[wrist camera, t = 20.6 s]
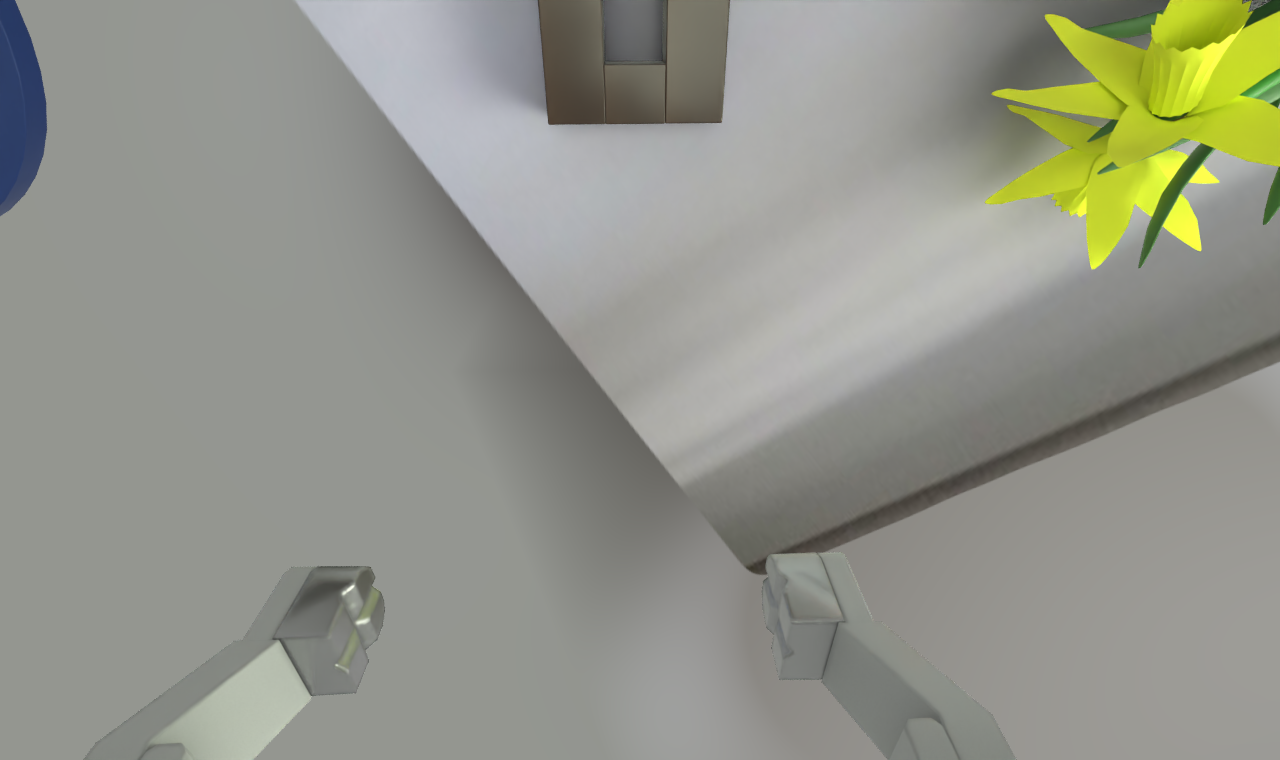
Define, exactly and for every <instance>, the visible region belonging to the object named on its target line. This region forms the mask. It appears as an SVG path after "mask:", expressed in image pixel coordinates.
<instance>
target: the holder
mask: <svg viewBox="0 0 1280 760" xmlns="http://www.w3.org/2000/svg"><path fill="white" fill-rule="evenodd" d="M729 5H730V0H663V29H662V61H606V62H605V39H604V9H603V0H538V7H539V19H540V31H541V43H542V55H543V67H544V79H545V91H546V102H547V114H548V124H549V125H564V124H605V123H606V124H664V123H721V122H722V114H723V99H724V83H725V68H726V52H727V36H728V21H729Z"/></svg>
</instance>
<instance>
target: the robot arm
mask: <svg viewBox="0 0 1280 760" xmlns="http://www.w3.org/2000/svg"><path fill="white" fill-rule="evenodd" d="M766 570H767V574H768V578H766V579H765V580H764V581H763V587H762V607H763V614H764V619H765V624H766V627H767V629H768V630H769V631H770V632H771V633H772V634H773V635H774V637H773V642H772V653H773V657H774V661H775V665H776V669H777V672H778V676H779V680H799V679H800V680H802V679H803V680H805V679H806V680H815V679H817V680H819V679H822V683H823V684H824V685H825V686H826V687H827V689H828V690H829V691H830V692H831V693H832V695H833V696H834V697H835V698H836V699H837V700H838V702H839V703H840V704H841V705H842V706H843V707H844V709H845V710H846V711H847V712H848V713H849V714H850V716H851V717H852V718H853V719H854V720H855V722H856V723H857V724H858V725H859V726H860V727H861V729H862V730H863V731H864V732H865V733H866V734H867V736H868V737H869V738H870V739H871V740H872V742H873V743H874V744H875V745H876V746H877V747H878V749H879V750H880V751H881V752H882V753H883V755H884V756H885V757H886V758H887V759H888V760H1016V758H1015V756H1014V754H1013V752H1012V750H1011V749H1010V747H1009V745H1008V743H1007V741H1006V739H1005V737H1004V736H1003V734H1002V732H1001V730H1000V728H999V726H998V724H997V723H996V721H995V719H994V717H993V715H992V714H991V713H990V712H989V711H988V710H986V709H985V708H984V707H983V706H982V705H980V704H979V703H978V702H977V701H975V700H974V699H973V698H972V697H971V696H970V695H968V694H967V693H966V692H965V691H964V690H962V689H961V688H960V687H959V686H958V685H956V684H955V683H954V682H953V681H952V680H951V679H949V678H948V677H947V676H945V674H943V673H942V672H941V671H940V670H939V669H937V668H936V667H935V666H934V665H933V664H931V663H930V662H929V661H928V660H927V659H925V658H924V657H923V656H922V655H921V654H919V653H918V652H917V651H916V650H915V649H913V648H912V647H911V646H910V645H909V644H908V643H906V642H905V641H904V640H903V639H901V638H900V637H899V636H898V635H897V634H895V633H894V632H893V631H892V630H891V629H889V628H888V627H887V626H886V625H885V624H884V623H882V622H877V621H873V618H872V616H871V614H870V611H869V609H868V607H867V604H866V602H865V600H864V598H863V595H862V593H861V591H860V588H859V586H858V584H857V581H856V579H855V577H854V575H853V572H852V570H851V568H850V565H849V563H848V561H847V558H846V556H845V555H844V554H843V553H842V552H837V553H793V554H769V556H768V558H767V561H766ZM374 580H375V576H374V573H373V571H372V569H371V567H366V566H361V567H360V566H354V567H352V566H351V567H350V566H346V567H345V566H344V567H342V566H341V567H338V566H334V567H333V566H332V567H331V566H327V567H326V566H325V567H323V566H321V567H291V568H290V569H289V570H288V571H286V572H285V573H284V574H283V576H282V577H281V579H280V581H279V582H278V584H277V586H276V587H275V589H274V590H273V592H272V594H271V595H270V597H269V598H268V600H267V602H266V603H265V605H264V606H263V608H262V610H261V611H260V613H259V615H258V616H257V618H256V619H255V621H254V622H253V624H252V626H251V627H250V629H249V630H248V632H247V634H246V635H245V637H244V638H243V640H241V641H234V642H232V643H231V644H230V645H228V646H227V647H225V648H224V649H223V650H221V651H220V652H219V653H217V654H216V655H215V656H213V657H212V658H211V659H209V660H208V661H206V662H205V663H204V664H202V665H201V666H200V667H199V668H197V669H196V670H194V671H193V672H192V673H190V674H189V675H187V676H186V677H185V678H183V679H182V680H181V681H179V682H178V683H177V684H175V685H174V686H173V687H171V688H170V689H168V690H167V691H166V692H164V693H163V694H162V695H160V696H159V697H158V698H156V699H155V700H154V701H152V702H151V703H149V704H148V705H147V706H145V707H144V708H143V709H141V710H140V711H139V712H137V713H136V714H135V715H133V716H132V717H130V718H129V719H128V720H126V721H125V722H124V723H122V724H121V725H120V726H118V727H117V728H116V729H114V730H113V731H112V732H110V733H109V734H107V735H106V736H105V737H103V738H102V739H101V740H99V741H98V742H96V743H95V745H94V746H93V748H92V749H91V750H90V751H89V753H88V754H87V755H86V757H85V758H84V760H253V759H254V758H255V757H256V756H257V755H258V754H259V753H260V752H261V751H262V750H263V749H264V748H265V747H266V746H267V745H268V744H269V743H270V741H272V740H273V739H274V737H275V736H276V735H277V734H278V733H279V732H280V731H281V730H282V729H283V728H284V727H285V726H286V725H287V724H288V723H289V722H290V721H291V719H293V718H294V717H295V716H296V714H297V713H298V712H299V711H300V710H301V709H302V708H303V707H304V706H305V705H306V704H307V703H308V702H309V701H310V700H311V699H312V697H311V696H316V695H334V694H350V693H356V692H357V689H358V687H359V684H360V682H361V679H362V677H363V674H364V672H365V669H366V667H367V664H368V662H369V659H368V656H367V653H366V651H365V650H366V649H367V648H368V647H369V646H371V645H372V644H373V643H374V642H375V641H376V640H377V639H378V636H379V634H380V631H381V629H382V626H383V620H384V612H385V607H384V599H383V596H382V594H381V592H380V591H379V590H377V589H376V588H374V587H373V586H372V584H373V582H374Z"/></svg>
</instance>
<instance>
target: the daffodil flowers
mask: <svg viewBox="0 0 1280 760" xmlns="http://www.w3.org/2000/svg"><path fill="white" fill-rule="evenodd" d="M1251 2H1252V0H1251V1H1249V2H1246V3H1244V4H1242V0H1170V2H1169V4H1168V6H1167V8H1166V9H1165V10H1161V11H1158V12H1155V13H1151V14H1148V15H1144V16H1141V17H1137V18H1132V19H1128V20H1123V21H1118V22H1114V23H1109V24H1105V25H1100V26H1095V27H1091V28H1086V29H1082V28H1081V27H1079V26H1078V25H1076V24H1075V23H1073V22H1072V21H1070V20H1069V19H1067V18H1065V17H1061V16H1058V15H1054V14H1046V15H1045V18H1046V21H1047V22H1048V23H1049V24H1050V26H1051V27H1052V28H1053V30H1054V31H1055V33H1056V34H1057V35H1058V37H1059V38H1060V40H1061V41H1062V42H1063V43H1064V45H1065V46H1066V47H1067V48H1068V50H1069V51H1070V52H1071V53H1072V54H1073V56H1074V57H1075V58H1076V59H1077V60H1078V61H1079V62H1080V63H1081V64H1082V65H1083V66H1084V67H1085V68H1086V69H1088V70H1089V71H1090V72H1091V73H1092V74H1093V75H1094V76H1095V77H1096V78H1097V79H1098V80H1099V81H1100V82H1092V83H1084V84H1076V85H1067V86H1059V87H1051V88H1043V89H1036V90H1028V91H1023V90H1016V89H1009V88H1008V89H1002V90H997V91H995V92H993V93H991V94H992V95H994V96H997V97H1001V98H1005V99H1010V100H1014V101H1018V102H1022V103H1026V104H1030V105H1034V106H1038V107H1043V108H1047V109H1052V110H1056V111H1061V112H1067V113H1074V114H1081V115H1088V116H1094V117H1101V118H1108V119H1113V120H1111V121H1110V122H1109V123H1107V124H1106V125H1105V126H1104V127H1102V128H1100V127H1096V126H1092V125H1089V124H1086V123H1082V122H1079V121H1076V120H1073V119H1070V118H1066V117H1063V116H1060V115H1056V114H1052V113H1047V112H1043V111H1038V110H1033V109H1028V108H1023V107H1019V106H1015V105H1007V107H1008V109H1010V110H1011V111H1012V112H1014V113H1017V114H1020V115H1024V116H1026V117H1027V118H1029V119H1030V120H1031V121H1033V122H1034V123H1035V124H1037V125H1038V126H1040V127H1041V128H1042V129H1044V130H1045V131H1047V132H1048V133H1050V134H1051V135H1052V136H1054V137H1055V138H1057V139H1058V140H1059V141H1061V142H1062V143H1064V144H1066V145H1068V146H1071V147H1073V148H1071V149H1069V150H1067V151H1065V152H1063V153H1060V154H1059V155H1057V156H1055V157H1053V158H1051V159H1050V160H1048V161H1046V162H1044V163H1042V164H1041V165H1039V166H1037V167H1035V168H1033V169H1032V170H1030V171H1028V172H1027V173H1025V174H1023V175H1022V176H1020V177H1019V178H1017V179H1016V180H1014V181H1012V182H1011V183H1009V184H1008V185H1007V186H1005V187H1004V188H1002V189H1001V190H999V191H998V192H997V193H995V194H994V195H992V196H991V197H989V198H988V199H987V200H986V201H985V203H986V204H1003V203H1007V202H1011V201H1015V200H1019V199H1026V198H1033V197H1040V196H1045V195H1050V194H1054V196H1053V198H1052V199H1051V200H1057V201H1056V204H1055V206H1062V208H1061V212H1063V211H1067V210H1069V214H1070V216H1071V215H1073V214H1076V213H1078V216H1079V217H1081V216H1082V215H1084V214H1085V213H1086V224H1087V244H1088V253H1089V260H1090V265H1091V268H1092V269H1095V268H1097V267H1098V266H1099V265H1100V264H1101V263H1102V262H1103V261H1104V260H1105V259H1106V258H1107V256H1108V255H1109V254H1110V252H1111V251H1112V250H1113V249H1114V247H1115V246H1116V245H1117V243H1118V241H1119V240H1120V238H1121V236H1122V235H1123V233H1124V231H1125V230H1126V228H1127V227H1128V224H1129V221H1130V218H1131V214H1132V211H1133V208H1134V205H1135V204H1136V205H1137V206H1138V207H1140V208H1141V209H1142V210H1143V211H1145V212H1146V213H1147V214H1148V215H1149V216H1151V217H1152V218H1151V221H1150V223H1149V226H1148V228H1147V232H1146V236H1145V240H1144V244H1143V248H1142V252H1141V257H1140V262H1139V267H1138V268H1141V266H1142V265H1143V264H1144V262H1145V260H1146V258H1147V257H1148V255H1149V253H1150V252H1151V250H1152V247H1153V245H1154V243H1155V241H1156V239H1157V237H1158V235H1159V233H1160V230H1161V228H1162V226H1163V227H1164V228H1166V229H1167V230H1168V231H1169V232H1171V233H1172V234H1173V235H1175V236H1176V237H1178V238H1179V239H1180V240H1182V241H1183V242H1185V243H1186V244H1188V245H1189V246H1191V247H1192V248H1194V249H1196V250H1198V251H1201V242H1200V236H1199V229H1198V222H1197V219H1196V217H1195V215H1194V213H1193V211H1192V209H1191V207H1190V205H1189V203H1188V201H1187V200H1186V199H1185V197H1184V196H1183V195H1182V194H1181V192H1182V190H1183V189H1184V187H1185V186H1186V185H1187V184H1188V182H1190V183H1218V182H1219V180H1217V179H1216V178H1215V177H1214V176H1213V175H1212V174H1211V173H1209V172H1208V171H1207V169H1206V168H1205V167H1204V166H1203V163H1204V162H1205V160H1206V159H1207V158H1208V157H1209V156H1210V155H1211V153H1212V152H1213V151H1214V150H1215V149H1218V150H1220V151H1223V152H1225V153H1228V154H1230V155H1233V156H1236V157H1238V158H1241V159H1243V160H1246V161H1250V162H1256V163H1261V164H1267V165H1273V166H1278V167H1279V168H1278V171H1277V173H1276V176H1275V178H1274V181H1273V183H1272V186H1271V189H1270V192H1269V196H1268V200H1267V204H1266V208H1265V213H1264V219H1263V225H1266V224H1267V223H1268V222H1269V221H1270V219H1271V218H1272V217H1273V215H1274V214H1275V213H1276V212H1277V210H1278V209H1279V208H1280V109H1278V106H1279V104H1280V0H1271V1H1270V2H1268V3H1266V4H1264V5H1263V6H1261V7H1259V8H1257V9H1256V10H1254V11H1251V12H1249V13H1248V10H1249V7H1250V4H1251ZM1148 33H1152V40H1151V42H1150V44H1149V47H1148V49H1147V50H1144V49H1141V48H1138V47H1135V46H1132V45H1130V44H1127V43H1124V42H1121V41H1118V40H1115V39H1112V38H1129V37H1134V36H1138V35H1143V34H1148ZM1190 140H1194V141H1197V142H1200V143H1201V144H1200V145H1199V146H1198V147H1197V148H1196V149H1195V150H1194V151H1193V152H1192V153H1191V154H1190V156H1188V155H1186V154H1184V153H1182V152H1178V151H1174V150H1169V149H1171V148H1174V147H1176V146H1178V145H1181V144H1183V143H1185V142H1188V141H1190Z"/></svg>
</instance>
